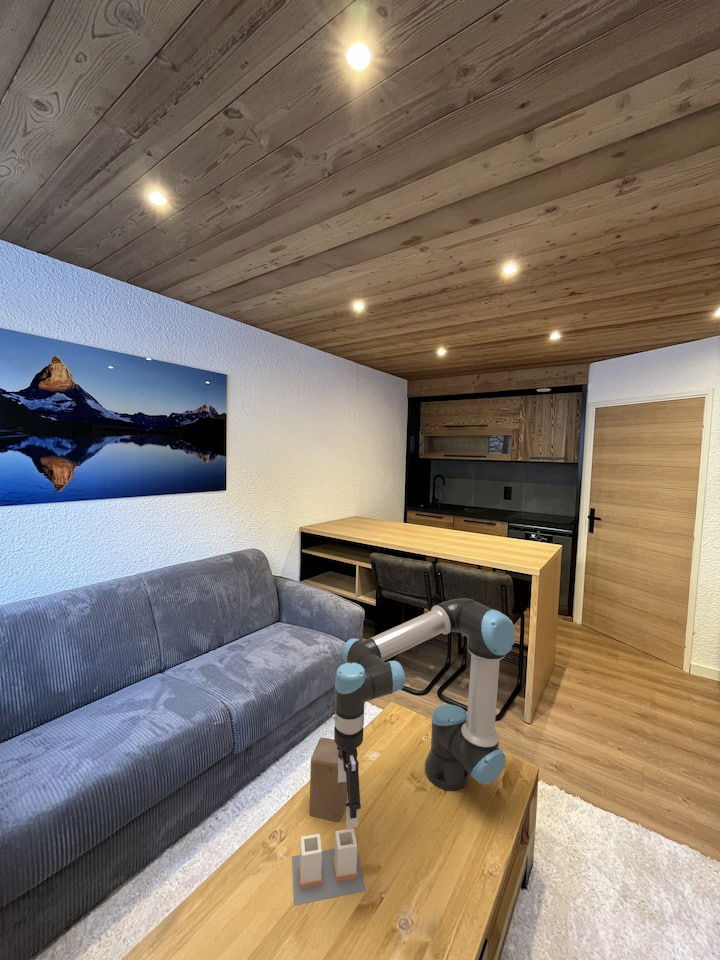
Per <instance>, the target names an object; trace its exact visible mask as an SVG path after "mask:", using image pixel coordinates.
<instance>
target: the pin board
mask: <svg viewBox="0 0 720 960" xmlns="http://www.w3.org/2000/svg"><path fill="white" fill-rule="evenodd" d="M334 856H335V848H330V849H325V850H322V864H321V874H322V886H317V887H312V888H307V889H302V890H300V875H299V862H300V854H297V855H293V856H291V862H292V863H291V867H292V869H291V871H292V889H293V890H292V893H293V894H292V895H293V906H299V905H305V904H309V903H314V902H319V901H323V900H329V899H334V898H338V897H339V898H340V897H344V896H349V895H353V894H357V893H362V892H366V886H365V885H366V884H365V881H364V876H363V870H362V865H361V862H360V857H359V852H358V850H357V866H356V869H357V879H354V880H349V881H343V882H338V883H336V877H335V869H334V862H333V858H334Z"/></svg>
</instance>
